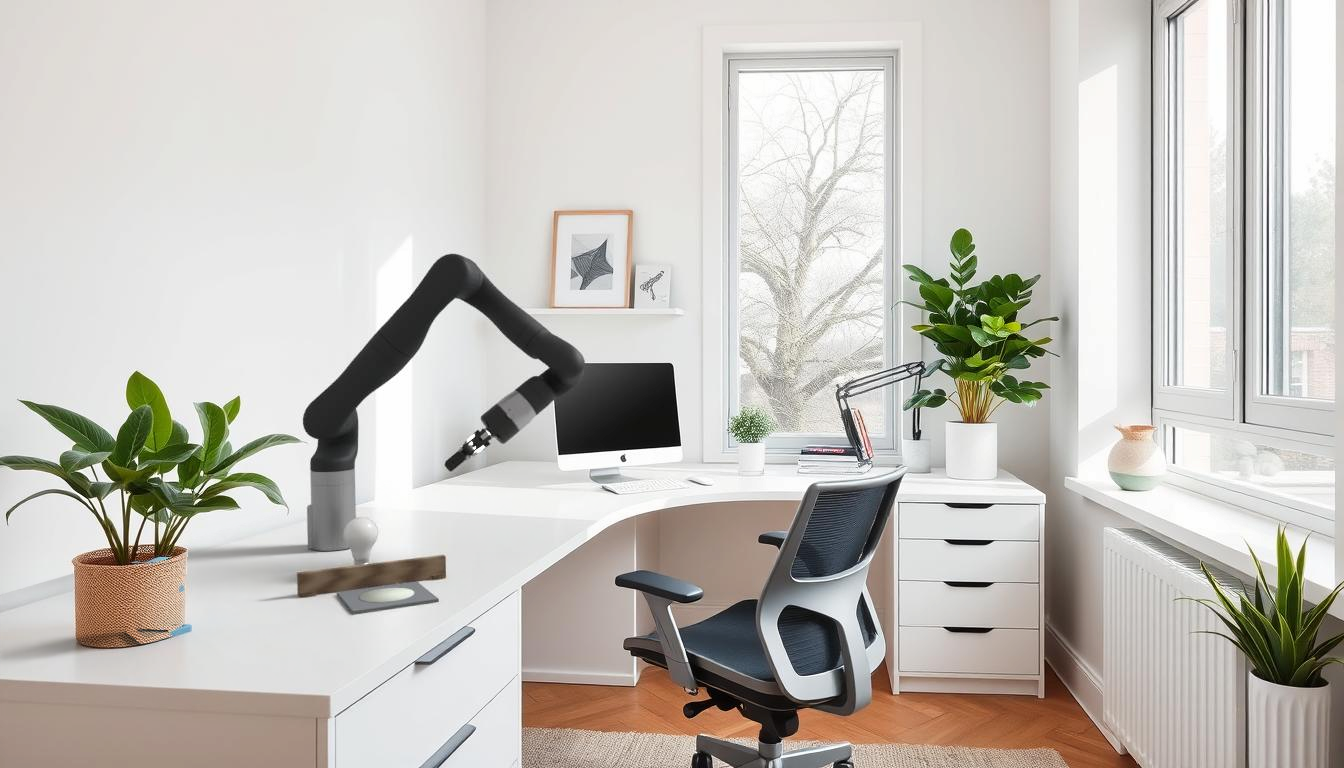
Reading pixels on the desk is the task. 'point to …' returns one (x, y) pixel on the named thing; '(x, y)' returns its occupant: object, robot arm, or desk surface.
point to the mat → (386, 597)
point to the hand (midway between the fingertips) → (447, 467)
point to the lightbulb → (360, 538)
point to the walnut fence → (370, 575)
